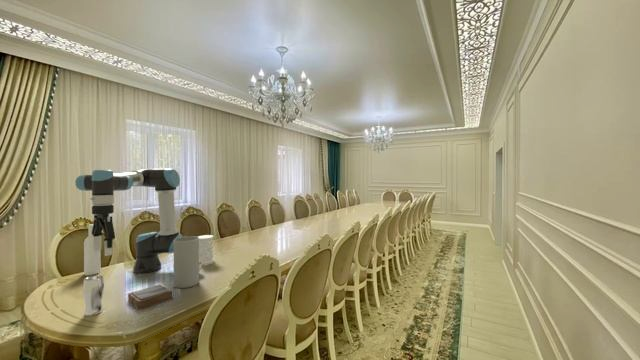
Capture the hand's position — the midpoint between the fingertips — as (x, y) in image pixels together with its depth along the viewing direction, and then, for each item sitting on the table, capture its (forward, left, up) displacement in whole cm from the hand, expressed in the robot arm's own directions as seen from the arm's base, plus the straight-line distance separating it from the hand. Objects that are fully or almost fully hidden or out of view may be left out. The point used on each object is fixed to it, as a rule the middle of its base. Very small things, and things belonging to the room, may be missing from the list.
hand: (102, 252), depth 119 cm
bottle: (-64, +9, -26) cm, 69 cm away
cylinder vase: (-1, +37, -26) cm, 45 cm away
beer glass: (-1, -3, -26) cm, 26 cm away
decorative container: (-29, +63, -26) cm, 74 cm away
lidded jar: (-13, +46, -26) cm, 54 cm away
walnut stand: (+5, +17, -25) cm, 31 cm away
